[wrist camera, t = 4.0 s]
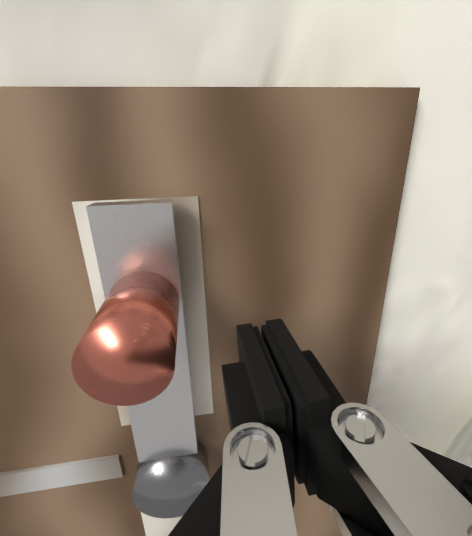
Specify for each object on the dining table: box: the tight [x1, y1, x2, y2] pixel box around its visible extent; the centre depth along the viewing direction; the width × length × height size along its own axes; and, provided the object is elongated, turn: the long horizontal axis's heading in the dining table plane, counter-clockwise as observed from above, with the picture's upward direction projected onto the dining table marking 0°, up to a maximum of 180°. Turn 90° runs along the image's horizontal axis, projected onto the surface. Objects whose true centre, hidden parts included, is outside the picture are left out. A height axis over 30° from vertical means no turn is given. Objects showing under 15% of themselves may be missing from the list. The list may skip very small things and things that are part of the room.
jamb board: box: [0, 87, 420, 536], centre depth 16 cm, size 28×38×3 cm
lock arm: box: [71, 199, 210, 518], centre depth 12 cm, size 17×4×5 cm, turn 2°
